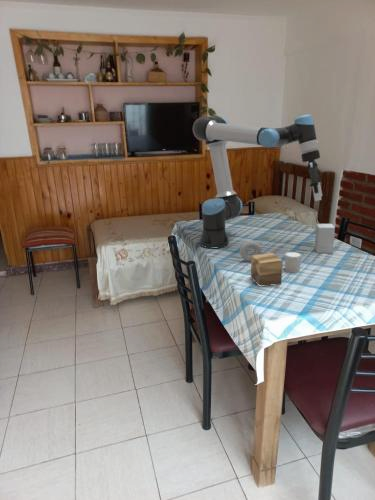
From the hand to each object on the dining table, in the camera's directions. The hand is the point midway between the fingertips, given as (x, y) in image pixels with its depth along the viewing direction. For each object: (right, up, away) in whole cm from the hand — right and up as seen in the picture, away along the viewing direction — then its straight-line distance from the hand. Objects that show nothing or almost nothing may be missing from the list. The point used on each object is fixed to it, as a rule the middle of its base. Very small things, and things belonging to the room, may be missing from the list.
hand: (318, 198), depth 158 cm
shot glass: (-15, -32, -9) cm, 36 cm away
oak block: (-28, -31, -20) cm, 46 cm away
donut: (-30, -28, +3) cm, 42 cm away
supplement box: (+6, -24, +11) cm, 27 cm away
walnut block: (-28, -36, -18) cm, 49 cm away
